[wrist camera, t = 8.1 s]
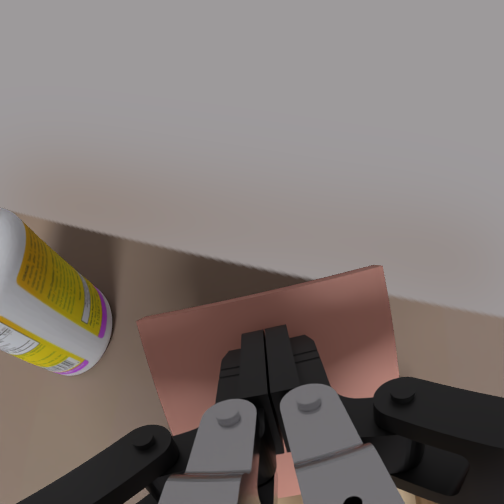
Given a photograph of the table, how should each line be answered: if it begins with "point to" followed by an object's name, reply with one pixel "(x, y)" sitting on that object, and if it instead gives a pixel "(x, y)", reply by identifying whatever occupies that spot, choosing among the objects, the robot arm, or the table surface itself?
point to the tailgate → (261, 317)
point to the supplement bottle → (47, 304)
